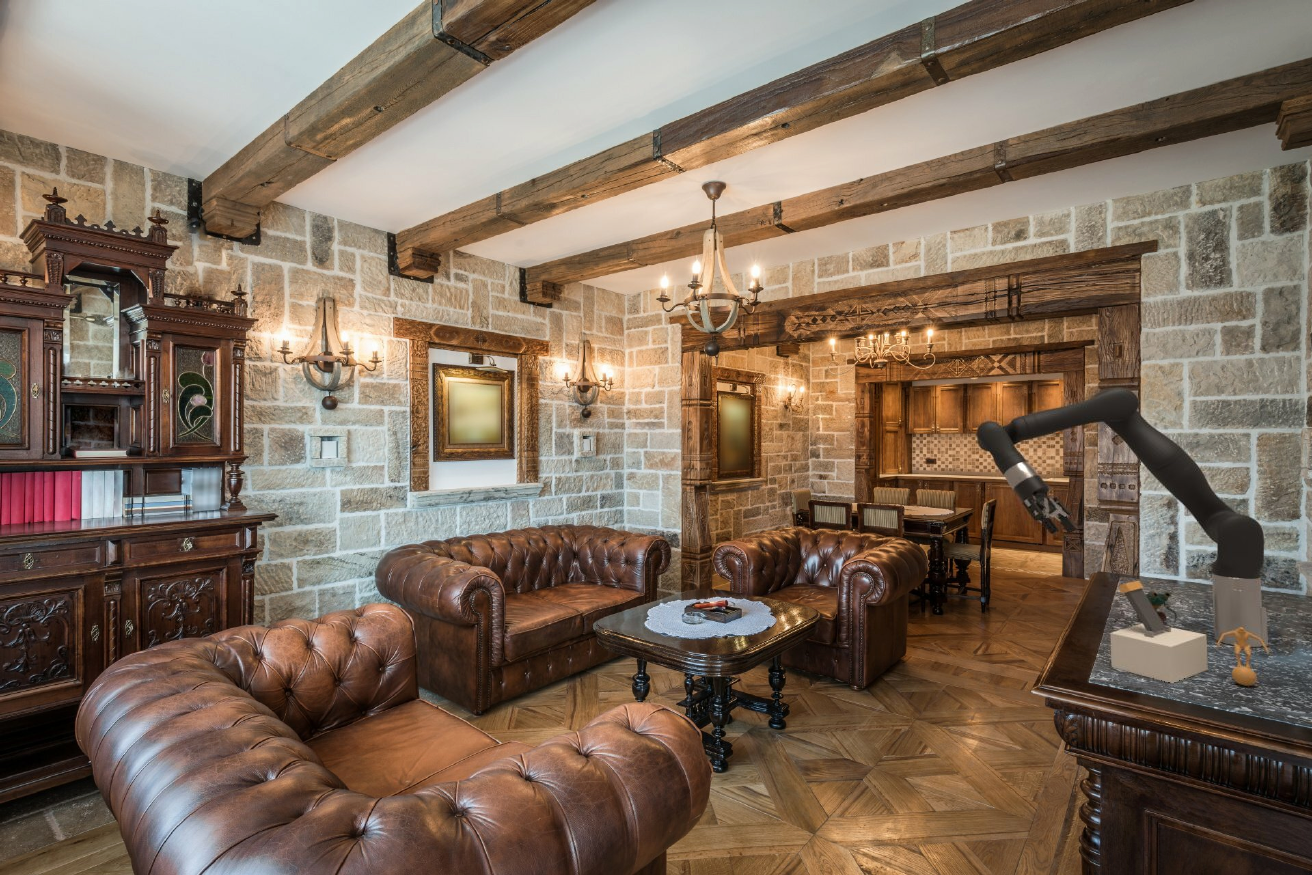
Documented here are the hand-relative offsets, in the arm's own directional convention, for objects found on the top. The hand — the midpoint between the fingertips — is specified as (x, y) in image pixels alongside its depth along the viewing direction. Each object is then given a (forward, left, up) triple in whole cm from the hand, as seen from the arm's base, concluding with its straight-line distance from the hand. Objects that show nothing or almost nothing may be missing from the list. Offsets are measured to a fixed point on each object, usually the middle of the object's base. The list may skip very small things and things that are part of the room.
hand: (1064, 531), depth 165 cm
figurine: (-24, +25, -30) cm, 45 cm away
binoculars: (-31, -21, -30) cm, 48 cm away
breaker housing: (-12, +17, -29) cm, 36 cm away
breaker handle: (-12, +17, -21) cm, 29 cm away
